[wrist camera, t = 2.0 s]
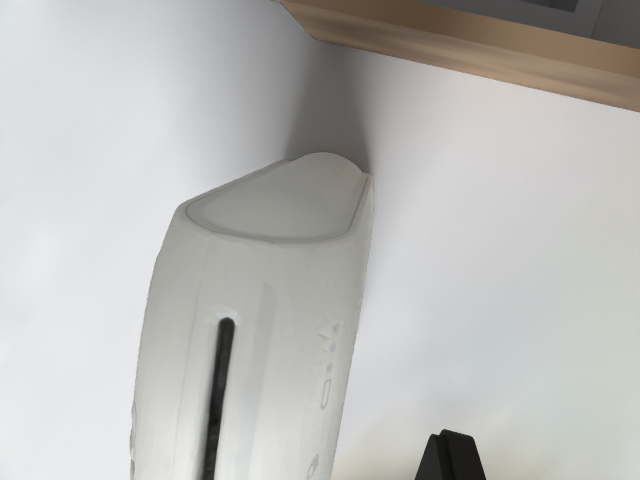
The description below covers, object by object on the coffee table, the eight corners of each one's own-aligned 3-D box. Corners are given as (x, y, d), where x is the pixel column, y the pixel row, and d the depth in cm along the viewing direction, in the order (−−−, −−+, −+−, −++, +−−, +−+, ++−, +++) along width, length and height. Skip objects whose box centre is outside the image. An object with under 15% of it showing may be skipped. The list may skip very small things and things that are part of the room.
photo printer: (344, 392, 21) (284, 751, 9) (250, 373, 21) (76, 690, 9) (387, 161, 18) (381, 237, 6) (278, 143, 19) (83, 184, 7)
